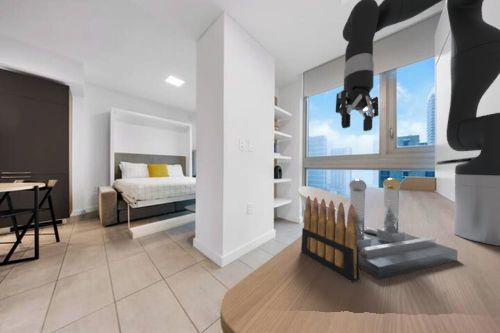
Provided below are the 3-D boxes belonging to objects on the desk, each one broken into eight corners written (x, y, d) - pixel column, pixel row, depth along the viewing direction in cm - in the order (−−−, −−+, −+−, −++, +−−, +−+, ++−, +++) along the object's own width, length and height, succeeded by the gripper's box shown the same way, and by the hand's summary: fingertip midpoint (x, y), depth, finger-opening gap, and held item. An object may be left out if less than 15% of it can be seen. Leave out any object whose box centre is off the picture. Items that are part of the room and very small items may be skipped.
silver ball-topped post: (341, 234, 40) (343, 177, 40) (370, 248, 33) (372, 179, 33) (328, 236, 38) (329, 177, 38) (355, 251, 32) (357, 179, 32)
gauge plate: (386, 234, 46) (387, 223, 46) (457, 260, 33) (457, 244, 33) (321, 243, 39) (321, 230, 39) (378, 279, 27) (379, 259, 27)
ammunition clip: (300, 251, 35) (302, 195, 35) (306, 249, 36) (308, 194, 36) (353, 282, 26) (354, 206, 26) (359, 279, 27) (361, 204, 27)
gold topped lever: (372, 229, 43) (373, 176, 43) (404, 241, 36) (405, 178, 36) (360, 230, 41) (361, 176, 41) (391, 243, 35) (393, 178, 35)
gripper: (351, 63, 44) (349, 123, 44) (388, 73, 48) (387, 128, 48) (329, 77, 51) (328, 129, 51) (363, 85, 55) (362, 133, 55)
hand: (357, 129), depth 50 cm, fingers open, 8 cm apart
